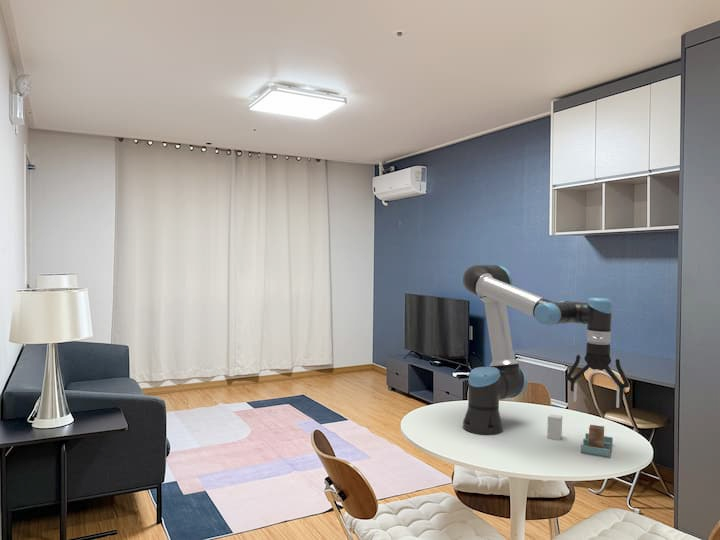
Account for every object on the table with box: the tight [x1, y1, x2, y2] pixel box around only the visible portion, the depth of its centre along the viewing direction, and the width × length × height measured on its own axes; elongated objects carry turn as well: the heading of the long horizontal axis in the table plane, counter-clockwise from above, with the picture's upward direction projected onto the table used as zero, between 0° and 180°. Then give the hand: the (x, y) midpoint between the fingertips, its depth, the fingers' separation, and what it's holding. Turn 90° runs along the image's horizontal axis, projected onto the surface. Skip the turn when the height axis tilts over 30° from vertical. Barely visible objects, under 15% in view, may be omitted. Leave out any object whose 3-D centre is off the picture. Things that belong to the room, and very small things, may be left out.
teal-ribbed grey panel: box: [580, 432, 614, 459], centre depth 193 cm, size 9×16×3 cm, turn 152°
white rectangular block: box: [546, 413, 563, 441], centre depth 204 cm, size 4×4×8 cm
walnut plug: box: [588, 424, 605, 448], centre depth 189 cm, size 4×4×8 cm
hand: (596, 403), depth 189 cm, fingers open, 13 cm apart
